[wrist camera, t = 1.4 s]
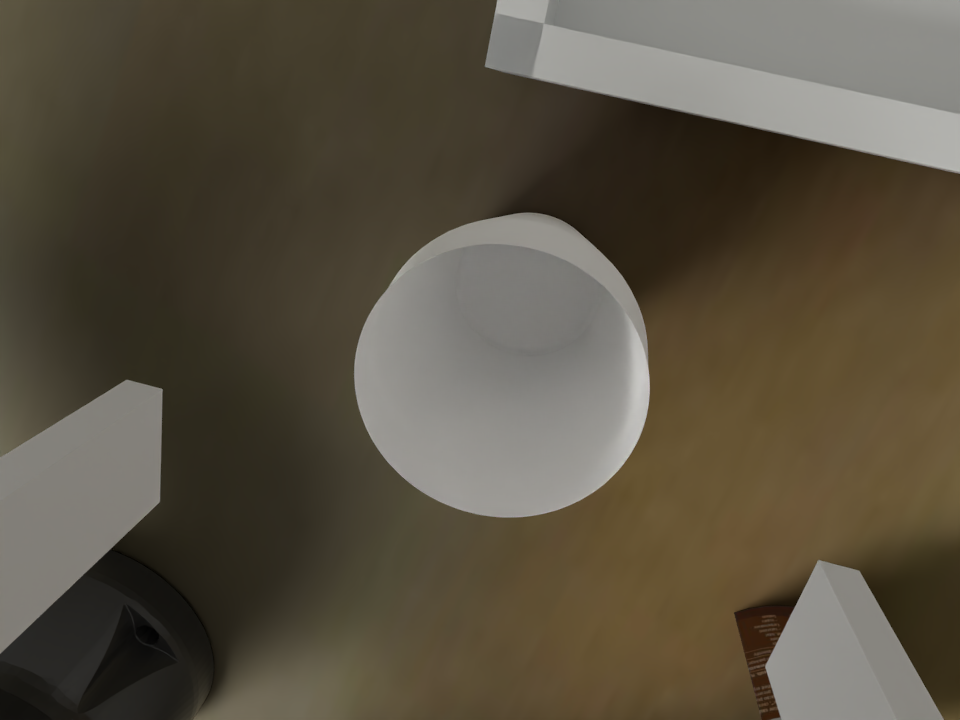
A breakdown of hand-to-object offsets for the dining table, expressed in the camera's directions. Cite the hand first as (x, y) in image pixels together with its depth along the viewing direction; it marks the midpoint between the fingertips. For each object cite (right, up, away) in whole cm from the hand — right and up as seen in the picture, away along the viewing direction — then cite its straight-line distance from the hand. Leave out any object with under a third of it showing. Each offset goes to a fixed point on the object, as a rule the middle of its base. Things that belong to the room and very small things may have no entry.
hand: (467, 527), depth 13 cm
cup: (+3, +7, +18) cm, 19 cm away
